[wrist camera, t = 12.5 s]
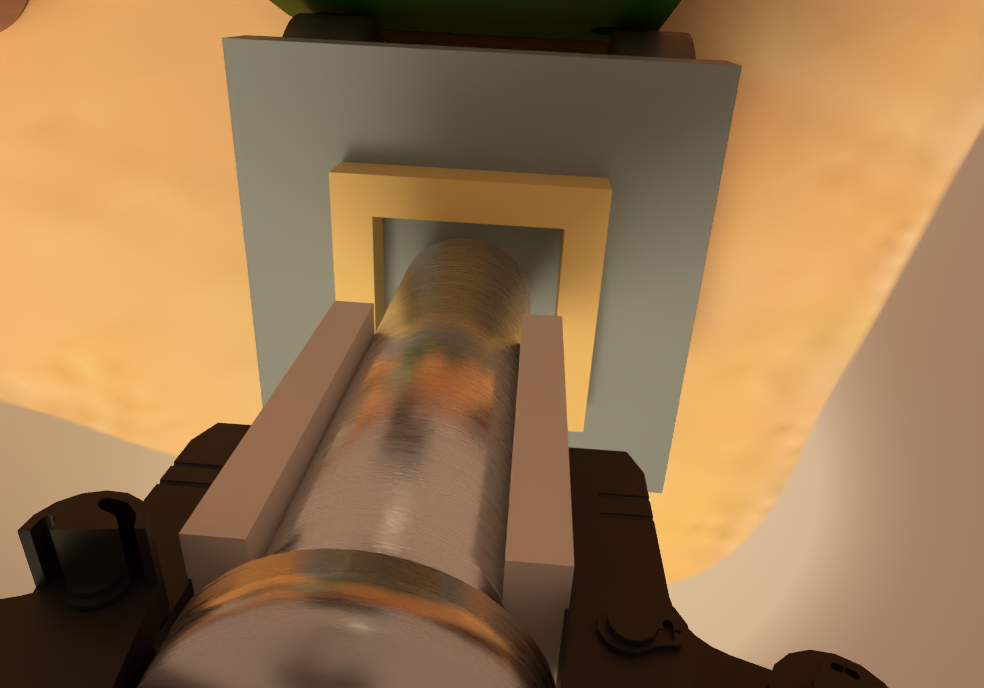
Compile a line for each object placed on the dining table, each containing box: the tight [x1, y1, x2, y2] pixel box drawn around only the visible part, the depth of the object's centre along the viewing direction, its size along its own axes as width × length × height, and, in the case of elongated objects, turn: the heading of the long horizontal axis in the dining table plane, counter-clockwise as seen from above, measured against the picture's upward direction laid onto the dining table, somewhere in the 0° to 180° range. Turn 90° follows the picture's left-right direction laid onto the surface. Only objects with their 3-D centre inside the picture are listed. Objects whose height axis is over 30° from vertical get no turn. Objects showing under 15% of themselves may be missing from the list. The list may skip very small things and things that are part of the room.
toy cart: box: [222, 13, 742, 493], centre depth 22 cm, size 13×12×9 cm
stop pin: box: [136, 237, 556, 688], centre depth 12 cm, size 4×4×12 cm
